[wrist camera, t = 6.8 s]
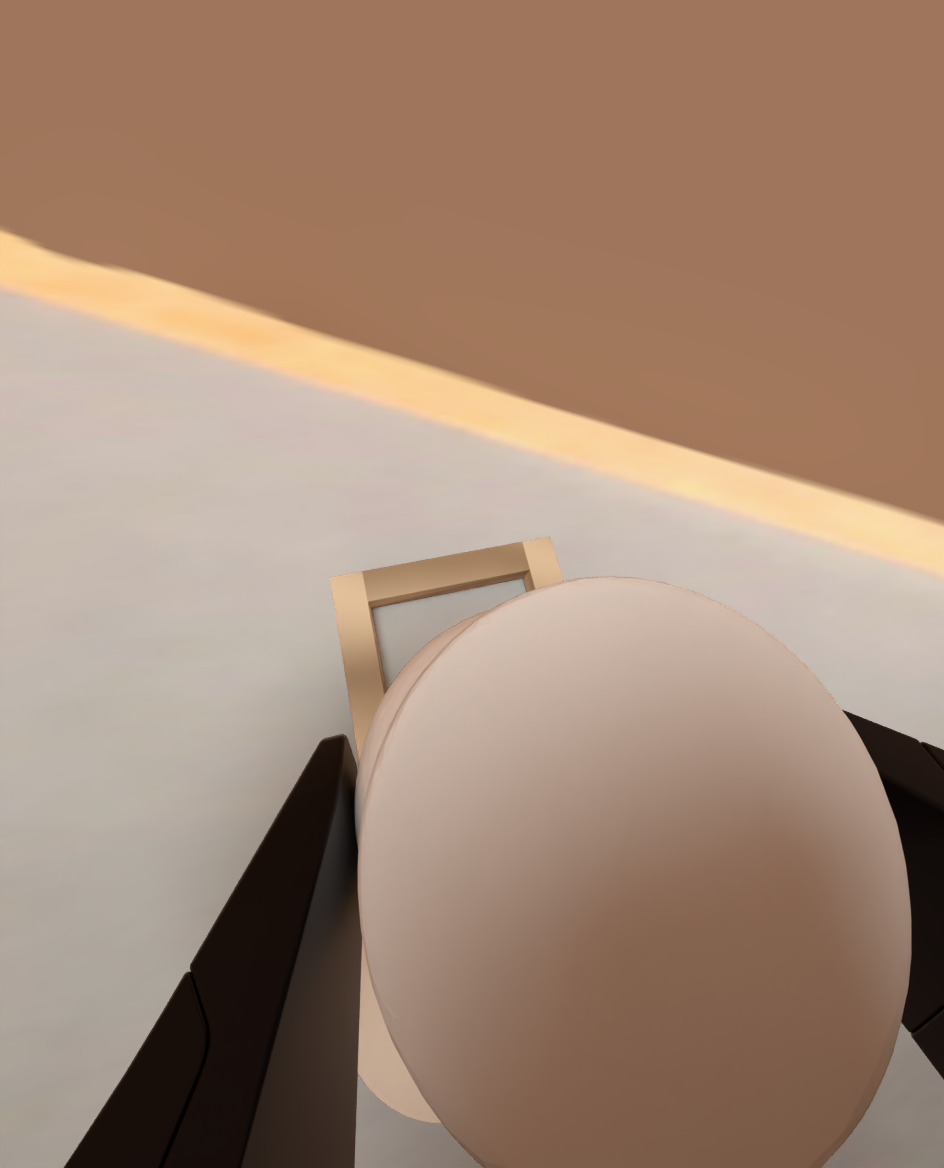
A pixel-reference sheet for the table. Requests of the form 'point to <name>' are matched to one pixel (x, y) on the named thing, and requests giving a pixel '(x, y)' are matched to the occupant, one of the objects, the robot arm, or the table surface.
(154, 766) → the table surface
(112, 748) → the table surface
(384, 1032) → the coaster
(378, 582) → the pocket frame
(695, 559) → the table surface
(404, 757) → the supplement bottle
